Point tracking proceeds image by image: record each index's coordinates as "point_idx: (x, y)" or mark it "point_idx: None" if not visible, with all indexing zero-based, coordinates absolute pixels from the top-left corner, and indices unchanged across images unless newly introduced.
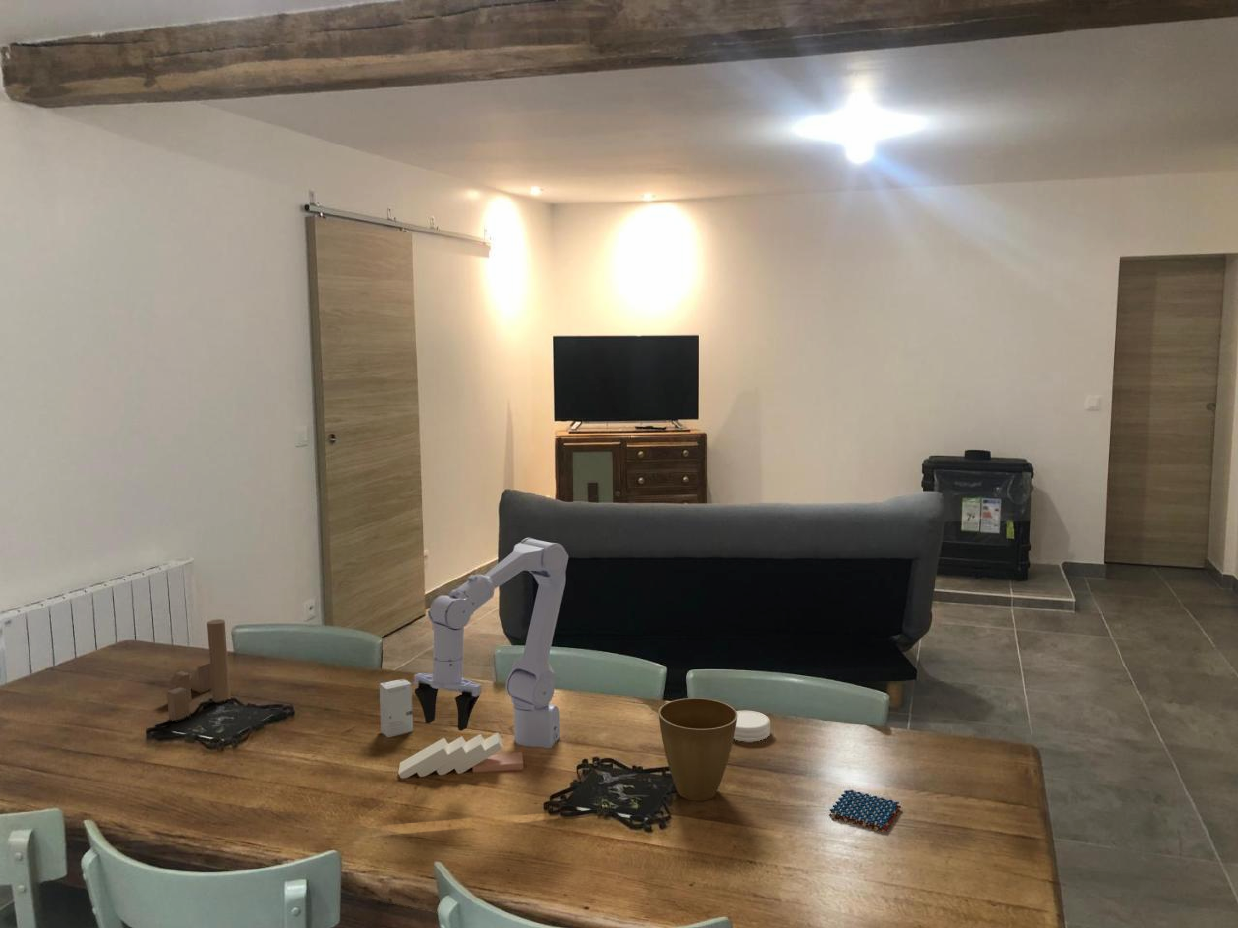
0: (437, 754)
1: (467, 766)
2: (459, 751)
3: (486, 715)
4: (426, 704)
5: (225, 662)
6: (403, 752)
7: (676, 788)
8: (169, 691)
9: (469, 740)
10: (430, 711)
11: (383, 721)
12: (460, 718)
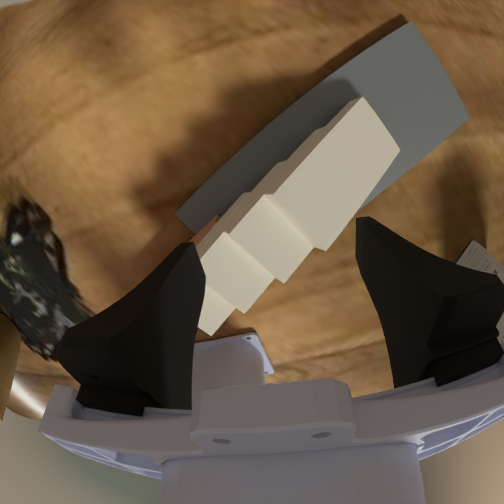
0: (286, 174)
1: (224, 215)
2: (235, 221)
3: (365, 376)
4: (397, 264)
5: None
6: (434, 223)
7: (3, 320)
8: None
9: (265, 284)
10: (374, 262)
11: (499, 264)
12: (158, 271)
